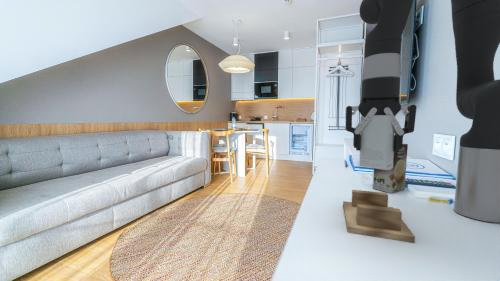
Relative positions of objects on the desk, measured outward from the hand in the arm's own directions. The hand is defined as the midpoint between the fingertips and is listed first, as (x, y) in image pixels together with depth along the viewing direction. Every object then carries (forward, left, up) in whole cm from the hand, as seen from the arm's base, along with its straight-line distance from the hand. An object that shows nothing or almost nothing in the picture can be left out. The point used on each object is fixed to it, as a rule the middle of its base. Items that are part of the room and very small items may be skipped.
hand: (376, 150), depth 51 cm
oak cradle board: (0, 0, -17) cm, 17 cm away
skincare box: (0, 0, -4) cm, 4 cm away
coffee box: (-10, -30, -17) cm, 36 cm away
